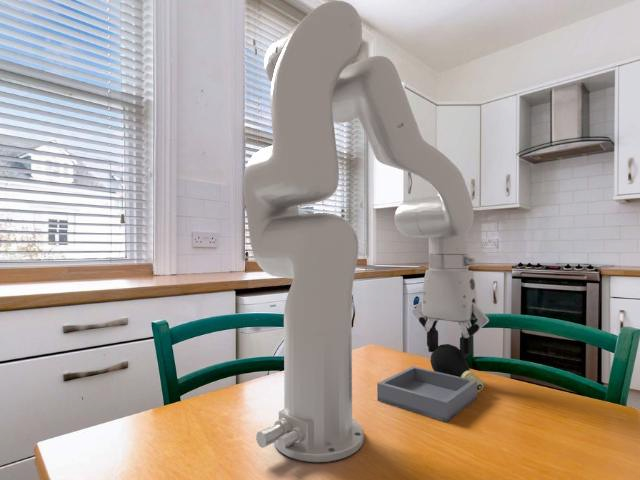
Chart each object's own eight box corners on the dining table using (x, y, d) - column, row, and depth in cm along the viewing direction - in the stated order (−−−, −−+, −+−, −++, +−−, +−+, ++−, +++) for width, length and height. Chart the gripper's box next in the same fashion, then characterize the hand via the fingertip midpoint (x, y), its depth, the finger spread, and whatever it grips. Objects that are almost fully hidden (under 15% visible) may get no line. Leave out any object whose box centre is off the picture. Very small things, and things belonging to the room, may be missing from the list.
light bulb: (487, 363, 68) (445, 332, 78) (459, 387, 67) (419, 352, 77) (498, 388, 70) (456, 354, 81) (471, 411, 69) (431, 374, 80)
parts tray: (446, 422, 58) (446, 402, 58) (377, 400, 67) (377, 383, 67) (477, 397, 68) (477, 380, 68) (412, 381, 76) (412, 366, 76)
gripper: (499, 264, 74) (500, 358, 73) (418, 262, 85) (418, 343, 85) (485, 265, 68) (486, 367, 68) (400, 262, 80) (401, 349, 79)
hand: (448, 352), depth 76 cm, fingers closed on light bulb, 5 cm apart
